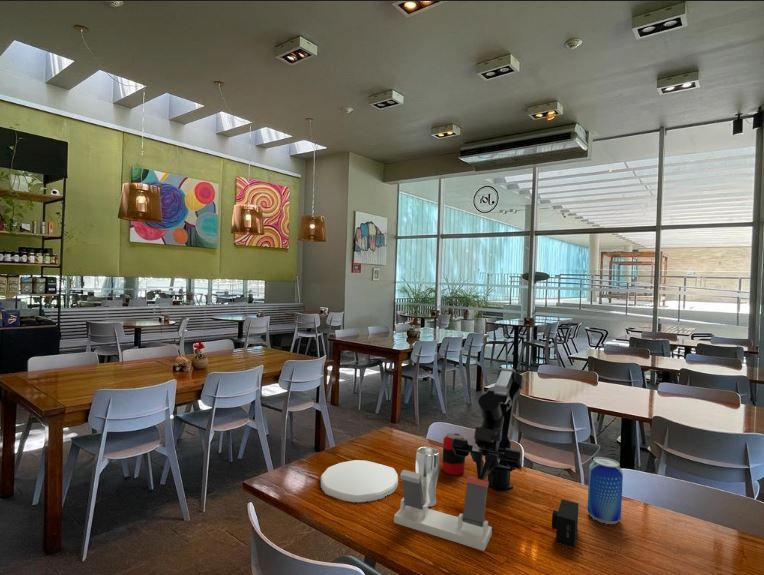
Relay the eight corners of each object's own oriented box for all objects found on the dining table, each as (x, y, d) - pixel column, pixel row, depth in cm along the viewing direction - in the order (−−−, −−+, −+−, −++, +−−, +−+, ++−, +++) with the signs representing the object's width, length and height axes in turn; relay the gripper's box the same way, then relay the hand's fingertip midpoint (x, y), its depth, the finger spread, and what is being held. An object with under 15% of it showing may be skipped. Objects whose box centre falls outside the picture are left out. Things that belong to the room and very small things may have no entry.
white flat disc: (348, 449, 154) (411, 466, 142) (348, 461, 154) (410, 478, 142) (303, 475, 132) (373, 497, 120) (302, 488, 132) (372, 511, 120)
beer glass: (436, 509, 122) (439, 456, 122) (412, 506, 124) (414, 453, 124) (438, 498, 129) (440, 448, 129) (415, 494, 130) (417, 445, 130)
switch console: (406, 509, 122) (406, 492, 122) (491, 534, 111) (492, 516, 111) (393, 522, 114) (394, 504, 114) (484, 551, 104) (485, 531, 104)
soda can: (467, 469, 150) (469, 435, 150) (459, 477, 144) (460, 441, 144) (447, 464, 154) (449, 430, 154) (438, 471, 148) (440, 436, 148)
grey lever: (407, 501, 118) (403, 469, 115) (424, 506, 116) (421, 474, 113) (404, 507, 117) (400, 474, 113) (422, 512, 114) (418, 479, 111)
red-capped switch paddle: (463, 521, 111) (469, 476, 114) (483, 527, 108) (488, 481, 112) (461, 522, 109) (467, 476, 112) (481, 528, 107) (487, 481, 110)
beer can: (617, 514, 124) (620, 458, 124) (623, 529, 116) (626, 469, 116) (585, 508, 127) (587, 453, 127) (589, 522, 119) (591, 464, 119)
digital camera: (555, 522, 118) (556, 497, 118) (577, 528, 116) (578, 502, 116) (550, 541, 109) (551, 514, 109) (574, 548, 106) (575, 520, 106)
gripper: (454, 409, 123) (439, 460, 113) (522, 420, 115) (513, 477, 105) (461, 429, 130) (448, 479, 120) (525, 441, 122) (517, 496, 112)
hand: (479, 482), depth 114 cm, fingers closed
